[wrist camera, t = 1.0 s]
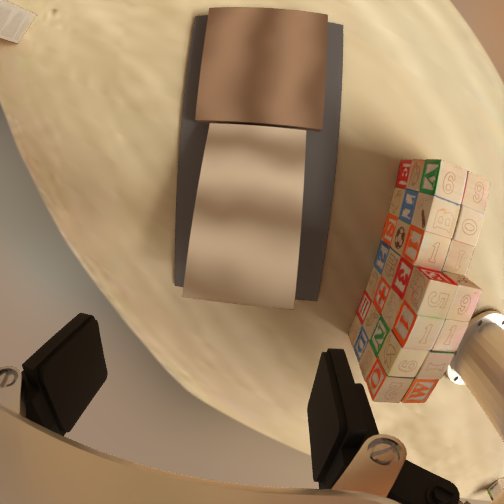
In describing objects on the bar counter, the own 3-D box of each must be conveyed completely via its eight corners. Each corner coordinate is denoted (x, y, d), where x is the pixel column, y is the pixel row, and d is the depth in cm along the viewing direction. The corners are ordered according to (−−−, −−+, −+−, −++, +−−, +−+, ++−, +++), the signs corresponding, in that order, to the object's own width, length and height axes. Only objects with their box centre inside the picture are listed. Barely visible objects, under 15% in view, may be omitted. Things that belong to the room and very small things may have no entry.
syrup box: (497, 479, 47) (510, 508, 33) (505, 476, 47) (519, 504, 33) (486, 489, 49) (498, 518, 35) (495, 486, 49) (507, 513, 35)
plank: (212, 133, 28) (209, 123, 27) (303, 140, 28) (306, 130, 26) (188, 297, 26) (182, 296, 24) (291, 308, 26) (293, 309, 24)
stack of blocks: (399, 158, 28) (461, 157, 17) (444, 175, 28) (513, 185, 17) (347, 335, 35) (371, 404, 23) (390, 341, 34) (425, 405, 23)
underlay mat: (342, 26, 25) (343, 24, 24) (316, 299, 33) (317, 301, 33) (196, 17, 25) (195, 16, 25) (176, 284, 34) (175, 285, 34)
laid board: (324, 22, 24) (327, 14, 22) (319, 131, 28) (322, 129, 26) (213, 15, 25) (209, 7, 23) (200, 122, 29) (195, 120, 27)
